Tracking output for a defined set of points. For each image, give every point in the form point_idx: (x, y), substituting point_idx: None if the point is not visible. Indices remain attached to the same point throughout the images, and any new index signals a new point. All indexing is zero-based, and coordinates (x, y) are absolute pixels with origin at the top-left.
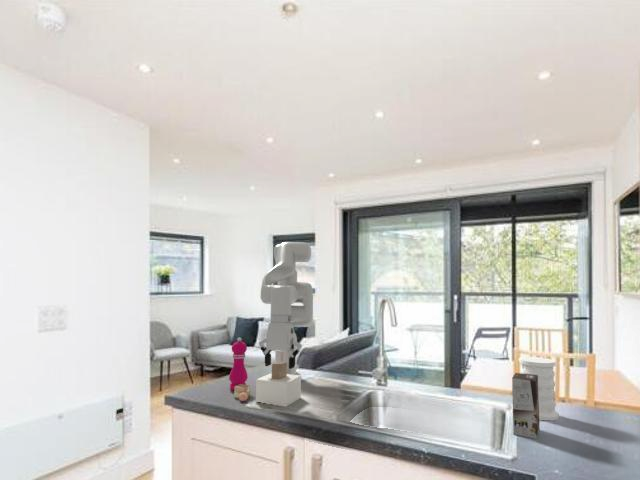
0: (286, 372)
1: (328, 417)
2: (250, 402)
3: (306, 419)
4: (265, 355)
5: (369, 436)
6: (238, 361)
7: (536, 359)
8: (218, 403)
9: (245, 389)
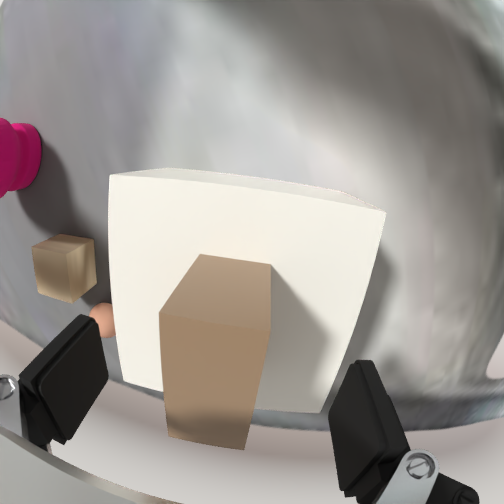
0: (269, 279)
1: (445, 375)
2: None
3: None
4: (54, 437)
5: (483, 415)
6: None
7: None
8: None
9: (76, 284)
